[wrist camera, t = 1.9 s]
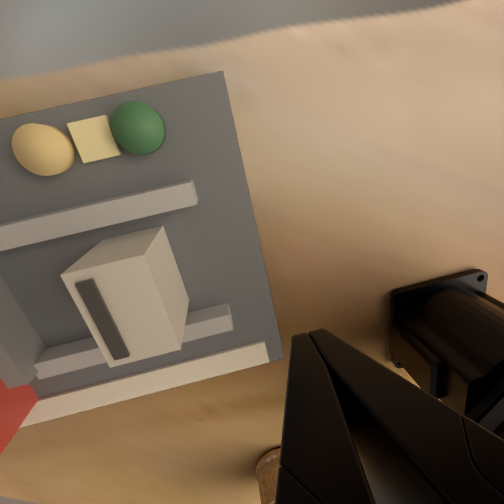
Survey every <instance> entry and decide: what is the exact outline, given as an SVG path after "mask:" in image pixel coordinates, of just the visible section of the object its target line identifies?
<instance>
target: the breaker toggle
mask: <svg viewBox="0 0 504 504" xmlns="http://www.w3.org/2000/svg"><path fill="white" fill-rule="evenodd" d="M60 276H61V278H62V280H63V281H64V283H65V285H66V287H67V289H68V291H69V293H70V294H71V296H72V298H73V300H74V302H75V304H76V306H77V307H78V309H79V311H80V313H81V315H82V317H83V319H84V320H85V322H86V324H87V326H88V328H89V330H90V332H91V334H92V335H93V337H94V339H95V341H96V343H97V345H98V347H99V348H100V350H101V352H102V354H103V356H104V358H105V360H106V361H107V363H108V365H109V367H110V368H111V367H115V366H119V365H123V364H127V363H130V362H134V361H138V360H142V359H146V358H150V357H154V356H158V355H162V354H165V353H169V352H173V351H177V350H181V346H182V340H183V334H184V328H185V322H186V316H187V310H188V304H189V298H188V295H187V292H186V289H185V287H184V284H183V281H182V278H181V275H180V272H179V269H178V267H177V264H176V261H175V258H174V255H173V252H172V249H171V246H170V244H169V241H168V238H167V235H166V232H165V229H164V226H163V225H162V226H158V227H153V228H149V229H145V230H141V231H137V232H133V233H128V234H124V235H120V236H116V237H112V238H107V239H103V240H102V241H100V242H99V243H98V244H97V245H96V246H94V247H93V248H92V249H91V250H90V251H88V252H87V253H86V254H85V255H84V256H82V257H81V258H80V259H79V260H78V261H76V262H75V263H74V264H73V265H72V266H70V267H69V268H68V269H67V270H66V271H64V272H63V273H62V274H61V275H60Z"/></svg>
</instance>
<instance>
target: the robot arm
mask: <svg viewBox="0 0 504 504" xmlns="http://www.w3.org/2000/svg"><path fill="white" fill-rule="evenodd" d="M487 279H488V274H487V273H486V272H485V271H482V270H480V269H474V270H471V271H467V272H463V273H459V274H455V275H451V276H447V277H443V278H439V279H436V280H432V281H428V282H424V283H420V284H416V285H412V286H408V287H404V288H401V289H397V290H395V291H393V292H392V294H391V295H390V316H391V321H390V324H389V339H390V352H391V359H392V363H393V364H394V365H395V367H397V368H404V369H405V370H406V371H407V372H408V374H409V375H410V376H411V377H412V378H413V379H414V381H415V382H416V383H417V384H418V385H419V386H420V388H421V389H420V388H419V387H417V386H416V385H414V384H412V383H411V382H409V381H408V380H406V379H404V378H403V377H401V376H400V375H398V374H396V373H395V372H393V371H391V370H390V369H388V368H387V367H385V366H383V365H382V364H380V363H379V362H377V361H375V360H374V359H372V358H371V357H369V356H367V355H366V354H364V353H362V352H361V351H359V350H358V349H356V348H354V347H353V346H351V345H350V344H348V343H346V342H345V341H343V340H342V339H340V338H338V337H337V336H335V335H333V334H332V333H330V332H329V331H327V330H325V329H323V328H320V329H316V330H313V331H309V333H301V334H297V335H294V336H292V341H291V351H290V361H289V371H288V381H287V390H286V400H285V410H284V420H283V430H282V440H281V450H280V459H279V465H280V467H279V468H278V477H277V486H276V495H275V502H274V504H504V303H502V302H500V301H498V300H497V299H495V298H493V297H491V296H489V295H487V294H486V286H487ZM399 296H401V297H400V298H399V299H398V297H399ZM438 399H440V400H441V401H442V402H441V401H440V400H438Z"/></svg>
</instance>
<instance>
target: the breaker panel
mask: <svg viewBox="0 0 504 504" xmlns="http://www.w3.org/2000/svg"><path fill="white" fill-rule="evenodd" d="M162 225H163V226H164V229H165V232H166V235H167V238H168V241H169V244H170V246H171V249H172V252H173V255H174V258H175V261H176V264H177V267H178V269H179V272H180V275H181V278H182V281H183V284H184V287H185V289H186V292H187V295H188V298H189V304H188V310H187V316H186V322H185V328H184V334H183V340H182V346H181V350H177V351H173V352H169V353H165V354H162V355H158V356H154V357H150V358H146V359H142V360H138V361H134V362H130V363H127V364H123V365H119V366H115V367H111V368H110V367H109V365H108V363H107V361H106V360H105V358H104V356H103V354H102V352H101V350H100V348H99V347H98V345H97V343H96V341H95V339H94V337H93V335H92V334H91V332H90V330H89V328H88V326H87V324H86V322H85V320H84V319H83V317H82V315H81V313H80V311H79V309H78V307H77V306H76V304H75V302H74V300H73V298H72V296H71V294H70V293H69V291H68V289H67V287H66V285H65V283H64V281H63V280H62V278H61V276H60V275H61V274H62V273H63V272H64V271H66V270H67V269H68V268H69V267H70V266H72V265H73V264H74V263H75V262H76V261H78V260H79V259H80V258H81V257H82V256H84V255H85V254H86V253H87V252H88V251H90V250H91V249H92V248H93V247H94V246H96V245H97V244H98V243H99V242H100V241H102V240H103V239H107V238H112V237H116V236H120V235H124V234H128V233H133V232H137V231H141V230H145V229H149V228H153V227H158V226H162ZM280 359H284V353H283V348H282V344H281V339H280V334H279V330H278V325H277V320H276V316H275V311H274V306H273V302H272V297H271V292H270V288H269V283H268V278H267V274H266V269H265V264H264V260H263V255H262V250H261V246H260V241H259V236H258V232H257V227H256V222H255V218H254V213H253V208H252V204H251V199H250V194H249V190H248V185H247V180H246V176H245V171H244V166H243V162H242V157H241V152H240V148H239V143H238V138H237V134H236V129H235V124H234V120H233V115H232V110H231V106H230V101H229V96H228V92H227V87H226V82H225V78H224V73H223V71H219V72H215V73H210V74H205V75H201V76H196V77H192V78H187V79H182V80H178V81H173V82H169V83H164V84H160V85H155V86H150V87H146V88H141V89H137V90H132V91H128V92H123V93H118V94H114V95H109V96H105V97H100V98H96V99H91V100H86V101H82V102H77V103H73V104H68V105H64V106H59V107H54V108H50V109H45V110H41V111H36V112H32V113H27V114H22V115H18V116H13V117H9V118H4V119H0V379H1V380H2V381H3V383H4V384H5V385H6V387H7V388H8V389H11V388H15V387H19V386H23V385H27V384H29V385H30V386H31V388H32V389H33V390H34V392H35V393H36V395H37V396H38V398H39V400H38V401H37V403H36V404H35V405H34V407H33V408H32V410H31V411H30V413H29V414H28V415H27V417H26V418H25V420H24V421H23V423H22V424H21V426H20V427H19V428H22V427H26V426H29V425H33V424H37V423H41V422H45V421H48V420H52V419H56V418H60V417H64V416H67V415H71V414H75V413H79V412H83V411H86V410H90V409H94V408H98V407H102V406H105V405H109V404H113V403H117V402H121V401H124V400H128V399H132V398H136V397H140V396H143V395H147V394H151V393H155V392H159V391H162V390H166V389H170V388H174V387H178V386H181V385H185V384H189V383H193V382H197V381H200V380H204V379H208V378H212V377H216V376H219V375H223V374H227V373H231V372H235V371H238V370H242V369H246V368H250V367H254V366H257V365H261V364H265V363H269V362H273V361H276V360H280Z"/></svg>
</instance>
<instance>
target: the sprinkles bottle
mask: <svg viewBox="0 0 504 504" xmlns="http://www.w3.org/2000/svg"><path fill="white" fill-rule="evenodd" d="M280 450H281V448H278V449H275V450H272V451H270V452H268V453H267V454H265V455H264V456H263V457H262V458H261V459H260V460H259V462H258V464H257V466H256V477H257V479H258V481H259V490H260V498H261V504H274V502H275V495H276V486H277V477H278V468H279V467H280V465H279V459H280Z"/></svg>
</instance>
